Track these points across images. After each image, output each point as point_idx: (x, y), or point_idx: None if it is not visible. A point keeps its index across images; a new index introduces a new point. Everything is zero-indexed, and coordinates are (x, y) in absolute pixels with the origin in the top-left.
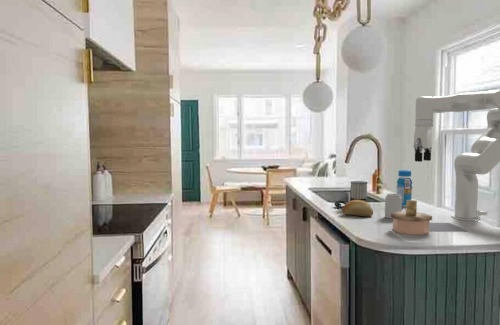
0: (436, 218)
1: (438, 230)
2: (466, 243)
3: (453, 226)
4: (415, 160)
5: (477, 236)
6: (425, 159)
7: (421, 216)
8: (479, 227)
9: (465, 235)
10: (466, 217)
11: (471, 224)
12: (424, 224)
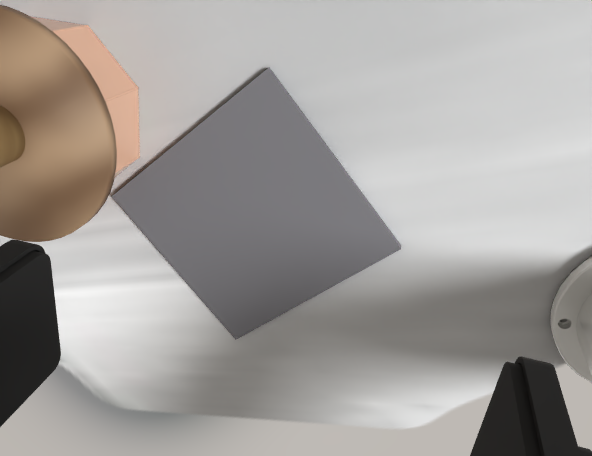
0: (560, 155)
1: (159, 226)
2: None
3: (306, 277)
4: (10, 256)
5: (190, 364)
6: (494, 406)
7: (8, 192)
8: (395, 375)
9: (174, 326)
10: (577, 333)
11: (458, 344)
12: None
